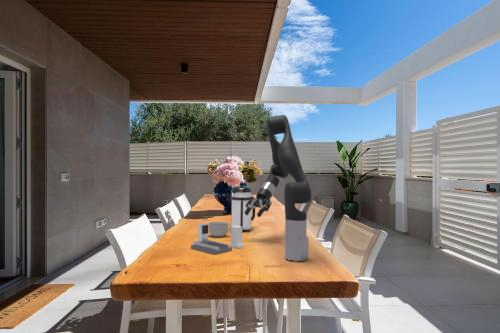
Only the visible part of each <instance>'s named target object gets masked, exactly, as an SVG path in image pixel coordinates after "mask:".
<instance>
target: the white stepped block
mask: <svg viewBox="0 0 500 333" xmlns="http://www.w3.org/2000/svg"><path fill="white" fill-rule="evenodd" d="M229 228H230V229H229V230H230V231H229V232H230V234H229V235H230V241H229V242H230V243H229V245H230V247H232V249H233V248H235V249H239V250H240V249H243V248H245V244H244V243H243V233H242V227H241V226H230V227H229Z"/></svg>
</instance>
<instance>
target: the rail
mask: <svg viewBox="0 0 500 333" xmlns="http://www.w3.org/2000/svg"><path fill="white" fill-rule="evenodd" d="M192 243H193V244H192V245H190V249H191V250H195V251H199V252H203V253H206V254H210V255H214V256H216V255H220V254H223V253H228V252H232V251H233V247H230V244H227V243H223V242H219V241H215V240H210V239H209V223H206V222H203V223H198V224H197V240H196V241H193V242H192Z"/></svg>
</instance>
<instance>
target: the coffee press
mask: <svg viewBox="0 0 500 333" xmlns="http://www.w3.org/2000/svg"><path fill="white" fill-rule="evenodd" d="M239 185H240V186H239ZM239 185H237V186H233V187H232V189H231V191H230V192H231V196H230V197H231V198H230V200H231V202H230V203H231V206H230V207H231V208H230V209H231V210H230V212H231V224H232V225H233V226H241V227H242V234H243V232H244V231H245V230H246V231H247V230H250V231H251V232H253V231H254V228H253V227H252V221H254V220H255V217H256V208H253V209H251V211H250V212H249V214H248V215H246V214H245V211H246V209H247V207H246V206H245V205H246V204H247V202H248V201H249V200H250V198H252V199H255V197H254V195H253V196H252V193H253V190H252V188H251V187H250V186H245V185H244V182H243V181H241V182H240V183H239ZM253 206H255V205H254V204H253ZM251 207H252V206H251ZM251 207H250V208H251ZM228 230H230V227H229V228H228Z"/></svg>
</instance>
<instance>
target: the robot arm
mask: <svg viewBox="0 0 500 333" xmlns="http://www.w3.org/2000/svg"><path fill="white" fill-rule="evenodd" d="M266 130H267V135H268V140H269V144H270V148H271V155H272V156H271V157H272V163H273V164H272V165H271V166H270V169H269V174H268V176H267V178H266V180H265V181H264V182H263V184H262V185H261V187H260V188H259V190H258V192H257V193H256V197H254V199H252V198H250V200H249V201H248V202H247V204H246V205H245V206H246V207H247V209H246V211H245V214H246V215H248V214H249V212H250V211H251V209H253V208H255V209H256V208H259V210H258V212H257V213H256V216H257V217H258V218H261V216H262V215H263V213H264V212H268V211H269V209H270V208H271V206H272V203H273V202H272V201H271V198H272V197H273V195H274V194H275V191H276V189H277V188H278V186H279V184H280V179H279V178H281V179H285V178H287V177H288V176H291V177H292V178H293V180H294V181H295V182H293V181H291V182H290V181H289V182H287V183H286V184H285V186H284V195H283V196H284V214H285V215H284V216H285V218H284V219H285V223H284V224H285V225H284V226H285V227H284V229H285V230H284V232H285V233H284V259H285V258H286V259H288V260H287V261H289V260H293V261H292V262H298V261H302V262H304V261H306V260H305V259H307V260H309V237H308V236H307V234H308V232H307V229H308V228H307V227H308V225H307V223H308V219H307V218H308V215H307V214H308V213H307V212H304V211H303V210H299V209H298V208H296V204H297V205H298V204H308V203H309V202H310V201H311V200H312V190H311V186H310V183H309V181H308V179H307V177H306V174H305V173H304V172H305V171H304V170H303V167H302V164H301V163H302V162H301V161H300V160H301V159H300V157H299V154H298V153H299V152H298V150H297V148H296V144H295V142H294V141H295V140H294V138H293V134H292V131H291V125H290V123H289V120H288V117H287V116H286V115H285V114H280V115H274V116H269V117H268V118H266ZM280 134H283V138H282V140H281V142H280V141H278V140H277V138H276V137H275V135H280ZM278 177H279V178H278ZM253 204H254V205H255V206H253ZM251 206H252V207H251ZM250 207H251V208H250ZM286 259H285V260H286ZM303 260H304V261H303Z"/></svg>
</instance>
